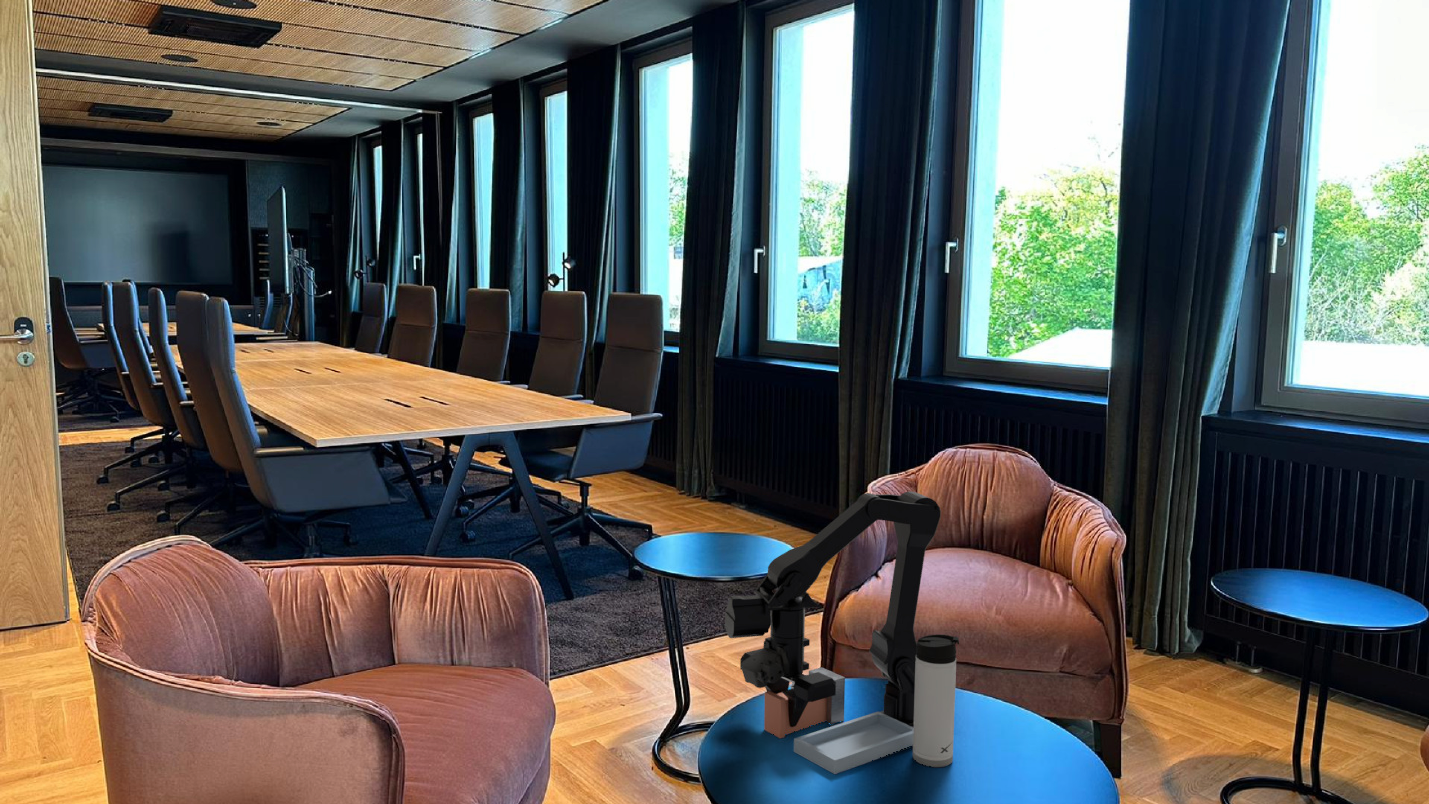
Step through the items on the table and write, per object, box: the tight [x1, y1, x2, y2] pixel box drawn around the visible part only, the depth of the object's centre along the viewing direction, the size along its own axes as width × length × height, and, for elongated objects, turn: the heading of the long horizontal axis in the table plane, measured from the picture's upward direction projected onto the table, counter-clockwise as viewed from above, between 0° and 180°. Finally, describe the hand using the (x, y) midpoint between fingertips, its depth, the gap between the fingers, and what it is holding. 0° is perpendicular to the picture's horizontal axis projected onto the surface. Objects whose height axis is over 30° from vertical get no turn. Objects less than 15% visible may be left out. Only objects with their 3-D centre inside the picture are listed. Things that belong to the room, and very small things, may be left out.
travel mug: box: [912, 633, 960, 768], centre depth 161 cm, size 6×7×20 cm
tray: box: [793, 711, 914, 775], centre depth 166 cm, size 19×10×2 cm, turn 126°
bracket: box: [808, 667, 846, 726], centre depth 178 cm, size 3×6×8 cm, turn 36°
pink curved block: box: [763, 690, 827, 739], centre depth 175 cm, size 14×4×7 cm, turn 127°
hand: (785, 722), depth 173 cm, fingers closed on pink curved block, 3 cm apart
